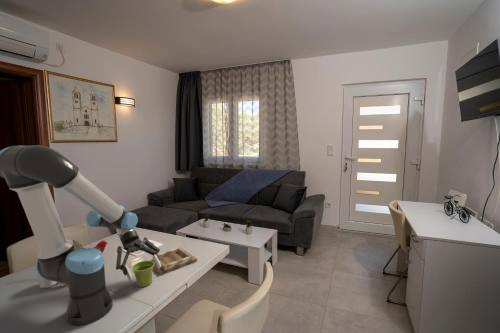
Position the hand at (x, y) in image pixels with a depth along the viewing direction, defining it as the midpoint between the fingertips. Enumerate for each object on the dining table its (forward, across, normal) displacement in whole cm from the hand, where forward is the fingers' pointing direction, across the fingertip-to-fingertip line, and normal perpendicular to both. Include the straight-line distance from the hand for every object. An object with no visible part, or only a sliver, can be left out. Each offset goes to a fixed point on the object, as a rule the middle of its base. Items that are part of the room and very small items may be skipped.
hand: (146, 273), depth 114 cm
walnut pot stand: (-2, -19, -9) cm, 21 cm away
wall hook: (-20, +25, -28) cm, 42 cm away
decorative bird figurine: (-29, +6, -37) cm, 47 cm away
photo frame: (-24, -20, -32) cm, 45 cm away
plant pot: (+3, 0, -5) cm, 5 cm away
